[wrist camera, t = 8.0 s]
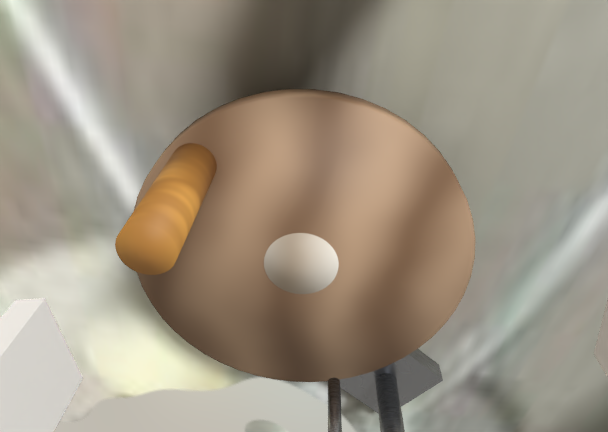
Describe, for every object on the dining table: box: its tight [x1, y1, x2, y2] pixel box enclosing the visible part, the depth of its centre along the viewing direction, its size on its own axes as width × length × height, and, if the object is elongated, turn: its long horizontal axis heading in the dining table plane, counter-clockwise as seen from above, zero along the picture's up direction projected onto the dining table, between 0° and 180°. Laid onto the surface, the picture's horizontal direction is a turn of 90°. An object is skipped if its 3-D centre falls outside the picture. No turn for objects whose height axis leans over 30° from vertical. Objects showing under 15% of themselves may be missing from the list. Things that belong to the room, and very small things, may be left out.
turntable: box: [115, 89, 475, 382], centre depth 26 cm, size 20×20×10 cm
